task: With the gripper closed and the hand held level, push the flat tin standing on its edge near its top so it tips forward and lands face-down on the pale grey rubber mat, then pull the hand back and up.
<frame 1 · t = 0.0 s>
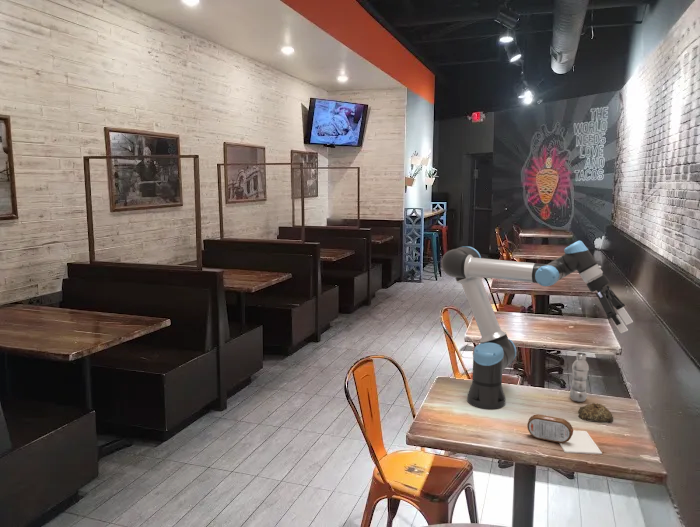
hand: (627, 327, 207), 36 cm above the table, tool tilted 35°, fingers open, 13 cm apart
mossy rock: (594, 416, 216), on the table
tin: (549, 440, 195), on the table, touching rubber mat
rubber mat: (575, 442, 194), on the table
plastic bottle: (577, 401, 230), on the table
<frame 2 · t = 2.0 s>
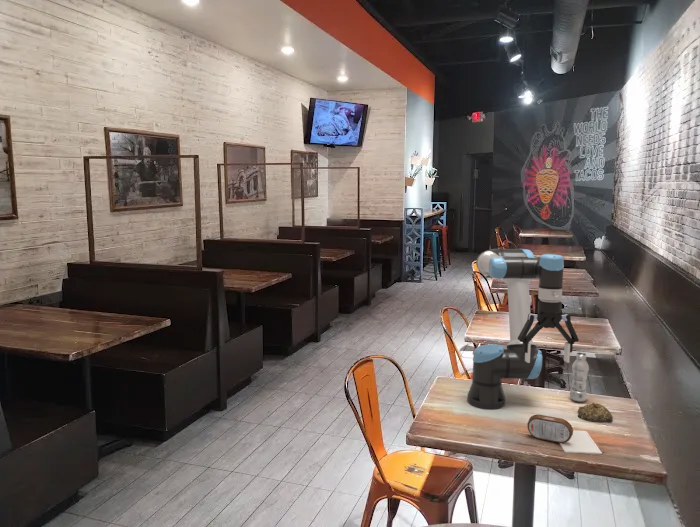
hand: (546, 361, 190), 29 cm above the table, tool pointing down, fingers open, 13 cm apart
nothing on the table moved.
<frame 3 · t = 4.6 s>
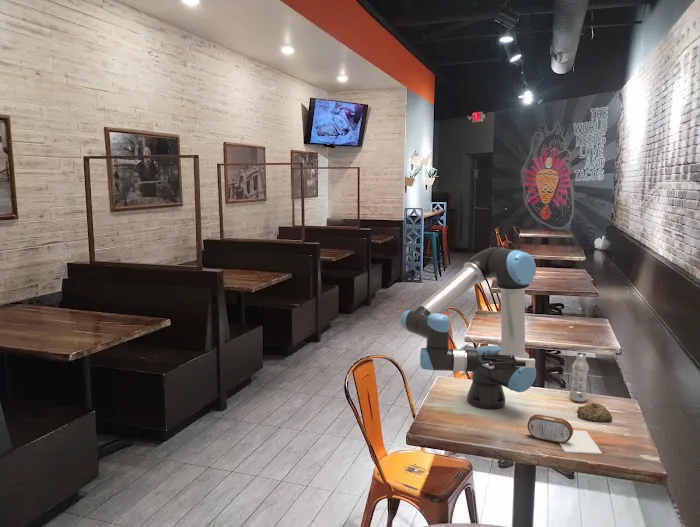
hand: (534, 363, 191), 28 cm above the table, tool horizontal, fingers closed
nothing on the table moved.
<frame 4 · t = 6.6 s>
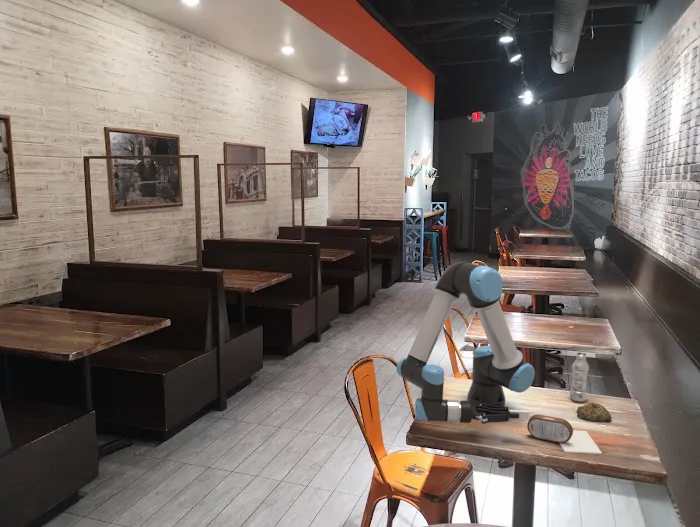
hand: (527, 415, 194), 9 cm above the table, tool horizontal, fingers closed
nothing on the table moved.
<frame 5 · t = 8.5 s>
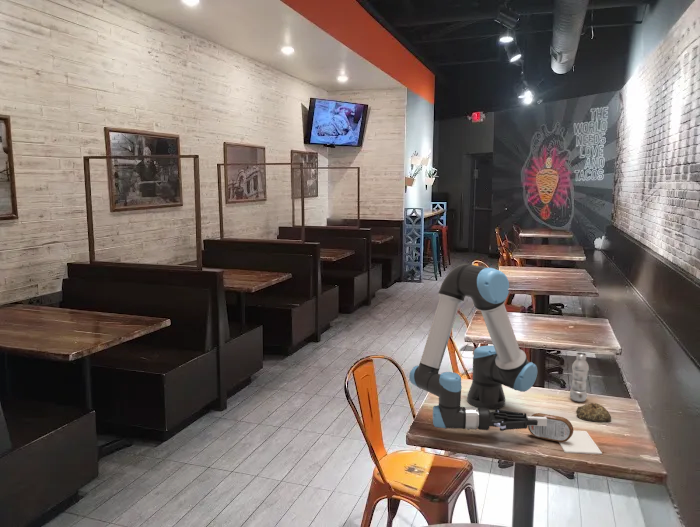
hand: (546, 421, 193), 7 cm above the table, tool horizontal, fingers closed
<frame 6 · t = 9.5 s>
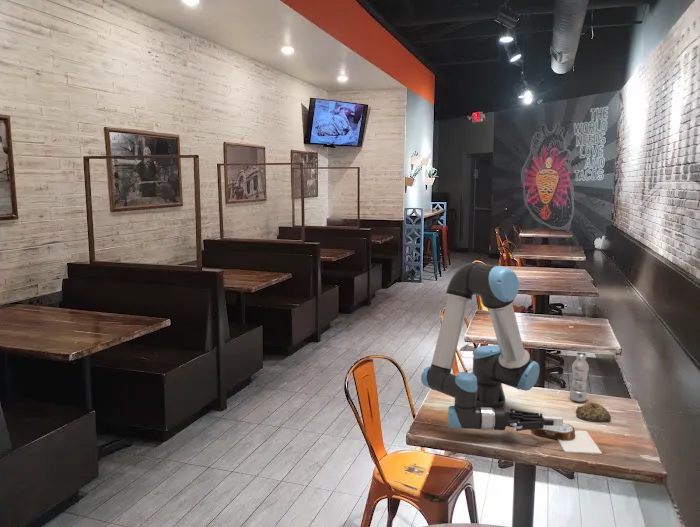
hand: (562, 421, 193), 7 cm above the table, tool horizontal, fingers closed
tin: (550, 433, 196), point 2 cm above the table, touching rubber mat
everything else where it was.
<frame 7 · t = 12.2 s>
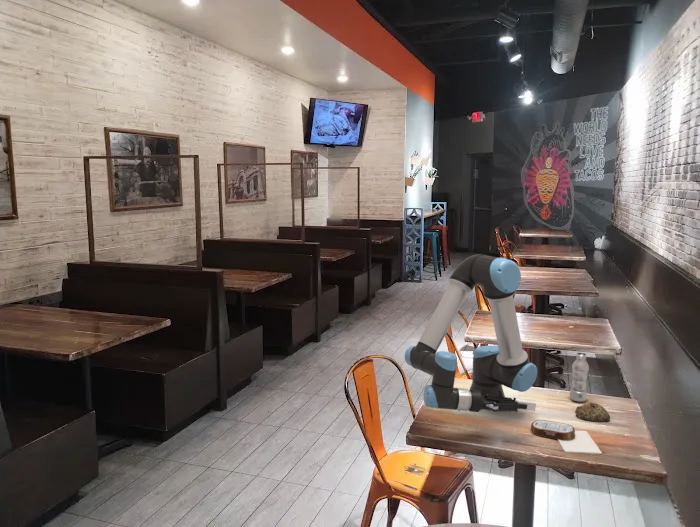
hand: (534, 406, 195), 12 cm above the table, tool horizontal, fingers closed
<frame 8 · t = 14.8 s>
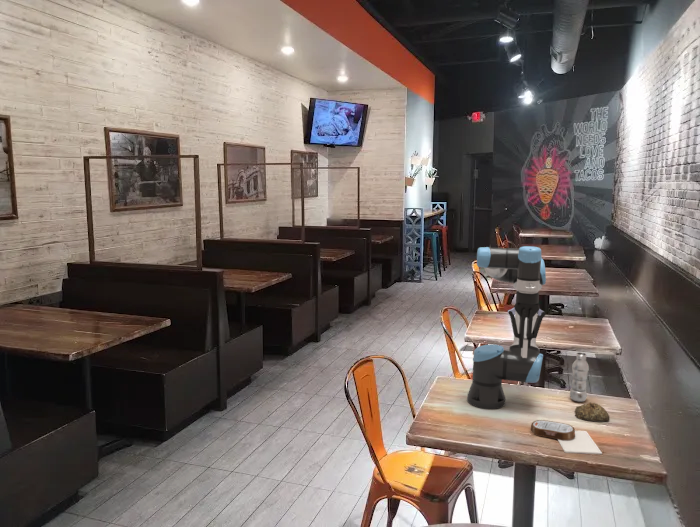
hand: (523, 356, 197), 28 cm above the table, tool pointing down, fingers closed
at the end: tin tilted 92°; tin touching rubber mat, table; tin inside the target area (5.6 cm from its centre), point 1.9 cm above the table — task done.
